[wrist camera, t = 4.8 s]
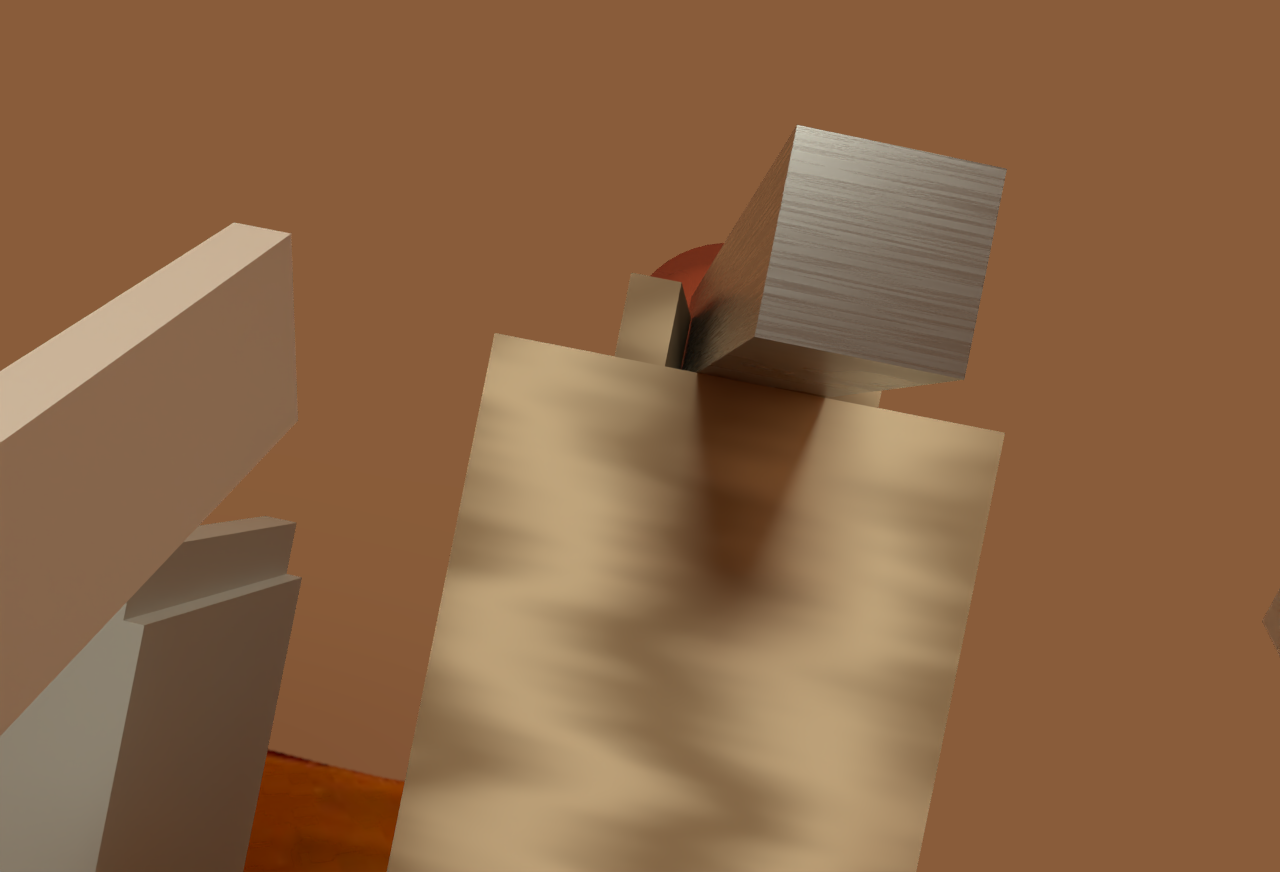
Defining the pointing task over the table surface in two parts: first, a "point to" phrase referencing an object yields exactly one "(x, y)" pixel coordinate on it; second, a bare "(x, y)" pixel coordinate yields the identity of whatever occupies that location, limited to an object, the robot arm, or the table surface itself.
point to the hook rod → (845, 270)
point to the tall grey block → (159, 718)
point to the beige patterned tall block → (691, 619)
